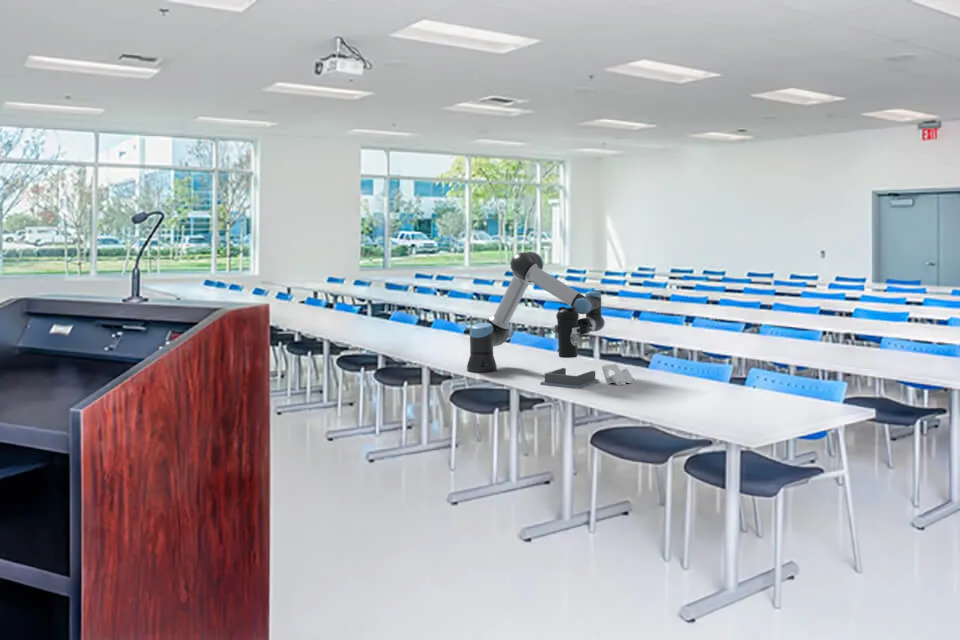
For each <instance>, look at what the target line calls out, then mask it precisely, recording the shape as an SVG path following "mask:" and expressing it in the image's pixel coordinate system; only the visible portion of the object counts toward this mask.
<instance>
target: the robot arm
mask: <svg viewBox="0 0 960 640" xmlns="http://www.w3.org/2000/svg"><path fill="white" fill-rule="evenodd" d="M510 269H511V271H512V276H513V277H512V279H510V280H511V281H510V282H509V285H508V286H507V289H506V291H505V292H504V295H503V297H502V299H501V301H500V303H499V304H498V306H497V309H496V311H495V313H494V315H493V316H490V317H489V319H488V320H487V322H480V323H474V324H473V325H471V326H470V328H469V346H470V347H469V350H470V351H469V352H470V353H469V354H470V355H469V359H468V362H467V365H466V370H467V371H468V372H471V373H490V372H491V373H492V372H495V371H497V370H498V369H497V368H498V367H497V366H498V365H497V362H496V359H495V356H494V347H499V346H501V345H502V344H503V343H505V342H506V341H507V340H508V337H509V330H510V322H511V320H512V317H513V315H514V313H515V311H516V310H517V307H518V305H519V303H520V301H521V300H522V297H523V295H524V294H525V292H526V290H527V288H528V285H529V284H534V285H536V286H538V287H539V288H541V289H543V290H544V291H545V292H547V293H549V294H551V295H552V296H554V297H555V298H558V300H560V301H561V302H563V303H565V304H567V305H568V306H569V307H576V308H575V310H576V311H577V312H578V314H579V315H585V317H582V318H578V327H576V328H572V334H577V333H578V335H589V334H590V333H593V332H598V331H600V330H602V329H603V328H604V327H605V324H606V323H605V322H606V321H605V319H604V317H603V316H602V294H601V292H600V291H587V292H586V293H585V295H584V294H581V293H580V292H579V291H577V290H575V289H574V288H573V287H570V286H569V285H567V284H566V283H564V282H562V281H560V280H559V279H557V278H556V277H554V276H552V275H551V274H549V273H547V272H546V271H544V270H543V269H544V260H543V258H542V256H541V254H539V253H537V252H533V251H527V252H517V253H516V254H514V255H513V256H512V258H511V260H510ZM552 334H558V324H555V325H554V326H553V327H552Z"/></svg>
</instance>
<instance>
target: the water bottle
mask: <svg viewBox="0 0 960 640" xmlns="http://www.w3.org/2000/svg"><path fill="white" fill-rule="evenodd" d="M575 308H576V307H571V306H569V307H566V306H559V307H558V309H557V310H558V311H557V313H556V322H557V325H558V332H557V340H558V341H557V343H558V345H557V346H558V357H559V358H562V359H573V358H577V357H578V343H579V341H578V340H579V339H578V338H579V337H578V336H579V333H577V334H572V328H576V327H578V319H580V314H579V313H578V312H577V311H576V310H575Z"/></svg>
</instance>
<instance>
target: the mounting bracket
mask: <svg viewBox="0 0 960 640" xmlns="http://www.w3.org/2000/svg"><path fill="white" fill-rule="evenodd" d="M601 368H602V372H603V376H604V379H605V383H606V384H607V385H611V384H610V383H614V384H615V385H616V386H618V385H619V386H622V385H621V384H625V385H627V384H626V383H632V384H634V383H635V380H636V379H635V378H634V377H633V376H632V374H631V373H630V371H629V370H628V368H624V369H620V368H619V366H618V364H616V363H614V364H608V365H607V364H606V365H602V367H601ZM610 370H611V371H613V373H614V374H612V375H610V374H609V371H610ZM633 382H634V383H633Z"/></svg>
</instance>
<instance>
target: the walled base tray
mask: <svg viewBox="0 0 960 640" xmlns="http://www.w3.org/2000/svg"><path fill="white" fill-rule="evenodd" d="M566 369H567V368H566V367H562V368H559V369H555V370H553V371H548V372H544V381H543V380H542V381H540V382H539V383H540V385H541V386H542V385H543V386H549V387H550V386H553V387H560V388H570V389H583V388H585V386H586V387H588V386H591V385H594V384H596V382H597V383H599V382H600V379H597V378H596V370H591V371H587V372H584V373H582V374H579V375H571V374H566V373H567V370H566ZM598 381H599V382H598ZM593 383H594V384H593ZM590 384H591V385H590Z"/></svg>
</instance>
